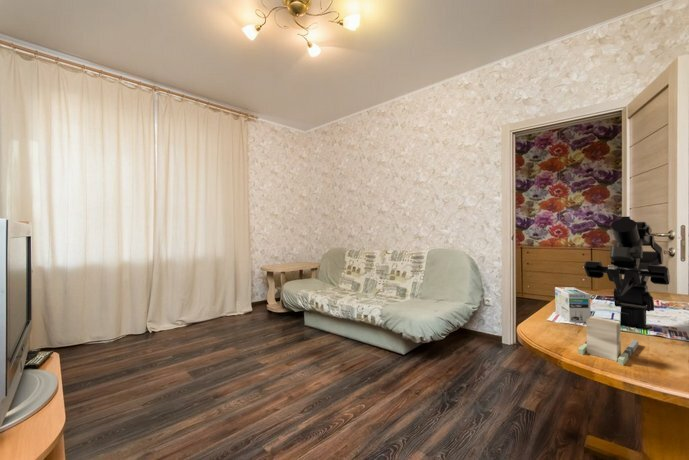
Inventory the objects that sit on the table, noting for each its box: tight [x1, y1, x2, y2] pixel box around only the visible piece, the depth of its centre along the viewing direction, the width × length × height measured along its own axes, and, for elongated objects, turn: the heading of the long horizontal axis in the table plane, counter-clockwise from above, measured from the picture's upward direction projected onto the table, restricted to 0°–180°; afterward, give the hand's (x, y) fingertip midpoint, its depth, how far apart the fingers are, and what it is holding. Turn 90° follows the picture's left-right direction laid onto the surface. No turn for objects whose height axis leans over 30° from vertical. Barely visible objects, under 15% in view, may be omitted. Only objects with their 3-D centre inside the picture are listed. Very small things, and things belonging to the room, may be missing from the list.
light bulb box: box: [554, 286, 592, 323], centre depth 109 cm, size 11×7×11 cm, turn 168°
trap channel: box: [577, 339, 639, 366], centre depth 83 cm, size 17×9×2 cm, turn 127°
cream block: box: [585, 316, 622, 362], centre depth 80 cm, size 4×6×9 cm, turn 37°
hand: (619, 294), depth 90 cm, fingers closed
